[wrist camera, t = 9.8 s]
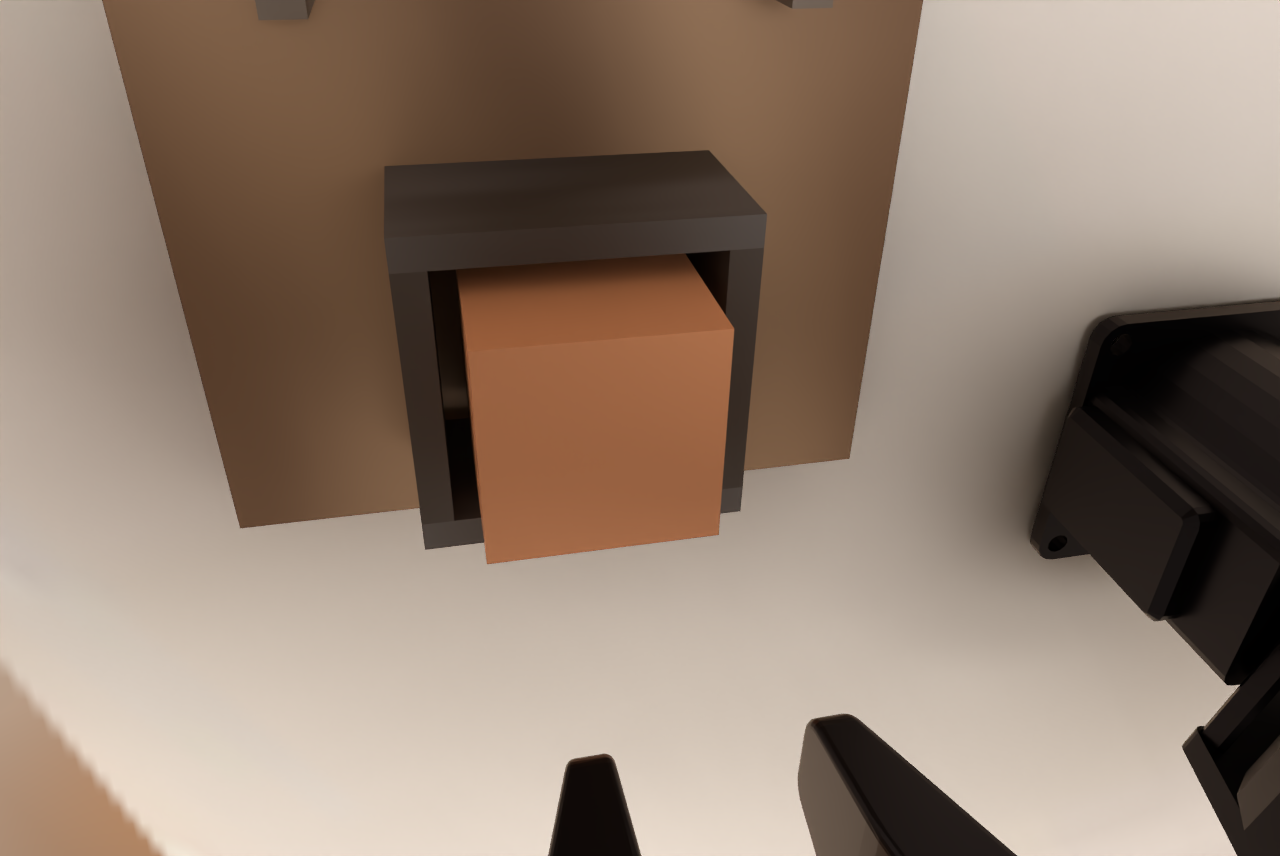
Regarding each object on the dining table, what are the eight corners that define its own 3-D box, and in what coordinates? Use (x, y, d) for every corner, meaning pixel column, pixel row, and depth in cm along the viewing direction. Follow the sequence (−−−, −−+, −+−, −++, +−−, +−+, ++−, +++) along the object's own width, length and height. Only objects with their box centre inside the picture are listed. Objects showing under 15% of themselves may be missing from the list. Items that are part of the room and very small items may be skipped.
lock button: (677, 241, 15) (734, 328, 13) (670, 427, 17) (718, 534, 14) (454, 256, 14) (468, 352, 12) (472, 447, 16) (487, 563, 14)
